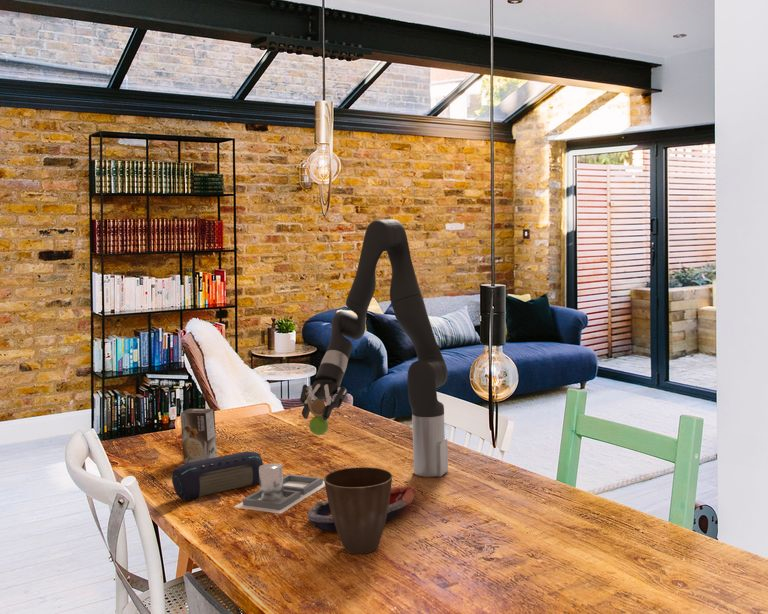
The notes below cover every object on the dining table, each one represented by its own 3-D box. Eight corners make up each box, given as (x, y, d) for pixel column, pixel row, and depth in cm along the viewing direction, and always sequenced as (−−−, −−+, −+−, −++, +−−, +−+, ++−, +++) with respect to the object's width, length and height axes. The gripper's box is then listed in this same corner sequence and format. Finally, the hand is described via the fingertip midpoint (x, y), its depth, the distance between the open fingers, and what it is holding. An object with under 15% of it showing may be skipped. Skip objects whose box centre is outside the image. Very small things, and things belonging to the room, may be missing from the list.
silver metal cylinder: (288, 498, 199) (286, 464, 198) (275, 506, 194) (274, 471, 193) (268, 496, 202) (267, 462, 201) (255, 503, 196) (254, 469, 195)
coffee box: (218, 458, 245) (215, 408, 243) (209, 464, 238) (206, 413, 237) (192, 457, 247) (189, 408, 245) (182, 463, 241) (179, 412, 239)
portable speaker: (182, 508, 199) (180, 470, 198) (169, 498, 208) (167, 461, 207) (270, 488, 213) (269, 453, 212) (255, 479, 221) (254, 445, 221)
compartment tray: (331, 487, 212) (330, 476, 212) (281, 519, 189) (280, 507, 188) (287, 482, 218) (287, 471, 218) (233, 512, 194) (233, 501, 194)
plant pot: (312, 548, 170) (310, 478, 168) (362, 529, 180) (360, 462, 179) (358, 567, 159) (356, 492, 158) (408, 546, 170) (406, 475, 168)
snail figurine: (314, 431, 223) (312, 390, 222) (332, 433, 220) (330, 392, 219) (303, 435, 219) (300, 394, 218) (321, 438, 216) (319, 395, 214)
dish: (294, 523, 186) (293, 503, 186) (399, 497, 203) (398, 478, 202) (326, 543, 173) (325, 521, 173) (434, 513, 190) (434, 493, 190)
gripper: (306, 361, 227) (287, 409, 218) (349, 362, 221) (331, 412, 212) (315, 375, 233) (297, 423, 223) (358, 377, 227) (341, 426, 217)
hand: (314, 417), depth 217 cm, fingers closed on snail figurine, 5 cm apart
